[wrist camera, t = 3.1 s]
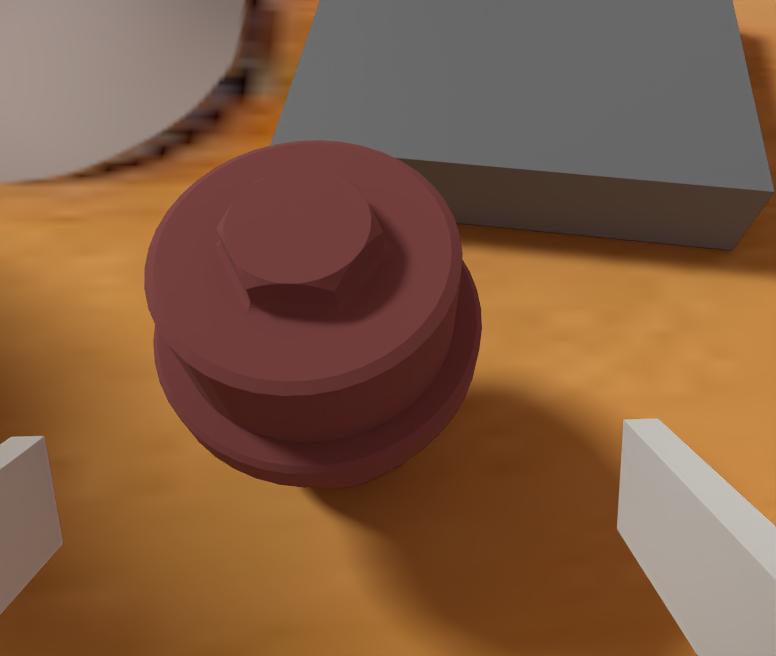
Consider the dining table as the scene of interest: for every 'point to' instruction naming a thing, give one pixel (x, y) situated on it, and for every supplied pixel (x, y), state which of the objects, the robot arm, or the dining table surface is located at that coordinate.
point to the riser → (547, 110)
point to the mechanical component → (312, 313)
